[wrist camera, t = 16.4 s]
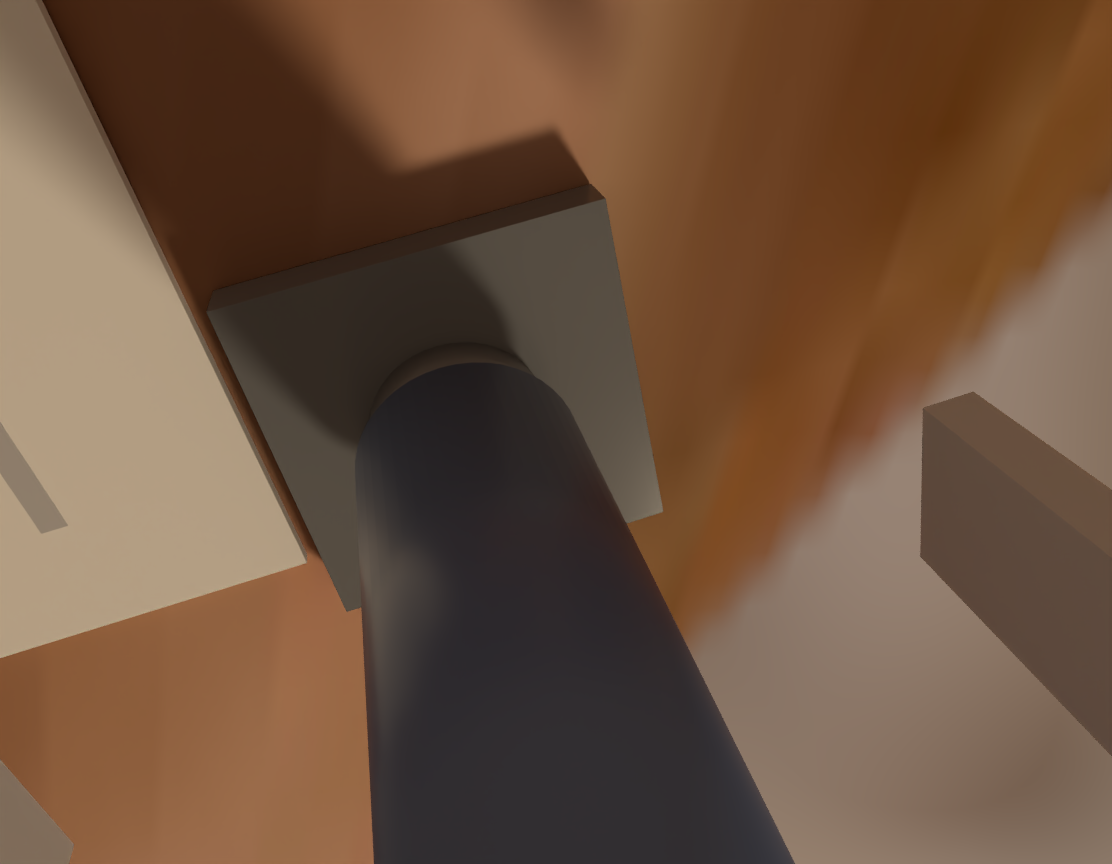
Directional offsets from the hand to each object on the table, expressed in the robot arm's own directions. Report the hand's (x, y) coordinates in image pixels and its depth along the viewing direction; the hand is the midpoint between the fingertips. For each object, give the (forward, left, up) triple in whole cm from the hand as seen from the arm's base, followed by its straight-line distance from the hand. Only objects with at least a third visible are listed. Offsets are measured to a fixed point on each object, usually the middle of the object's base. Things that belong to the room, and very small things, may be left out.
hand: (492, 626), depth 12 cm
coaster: (0, 0, -6) cm, 7 cm away
